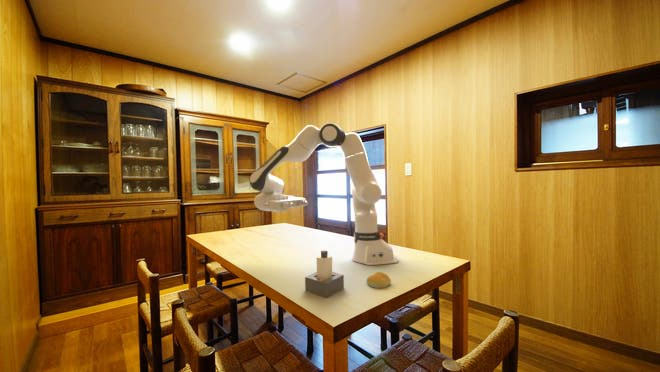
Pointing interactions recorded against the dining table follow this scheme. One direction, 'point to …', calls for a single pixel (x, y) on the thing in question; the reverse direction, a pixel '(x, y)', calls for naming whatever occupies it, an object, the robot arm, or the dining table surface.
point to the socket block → (324, 284)
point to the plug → (324, 266)
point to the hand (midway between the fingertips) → (299, 204)
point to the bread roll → (379, 280)
